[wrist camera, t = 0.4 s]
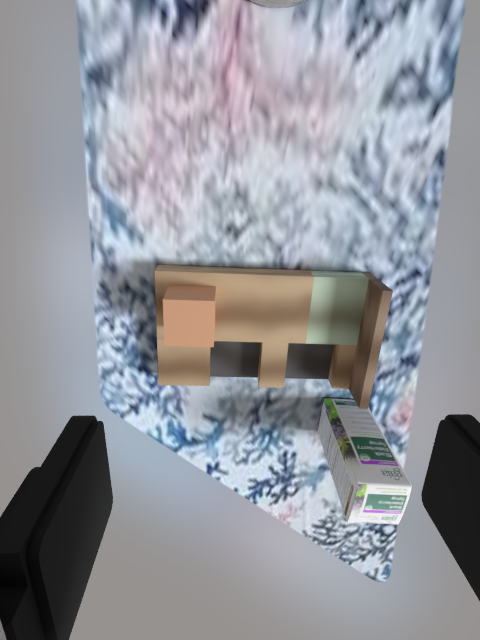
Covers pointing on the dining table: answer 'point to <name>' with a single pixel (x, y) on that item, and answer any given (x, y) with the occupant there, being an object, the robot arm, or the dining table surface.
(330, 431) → the syrup box
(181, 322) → the orange block
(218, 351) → the board
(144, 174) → the dining table surface
